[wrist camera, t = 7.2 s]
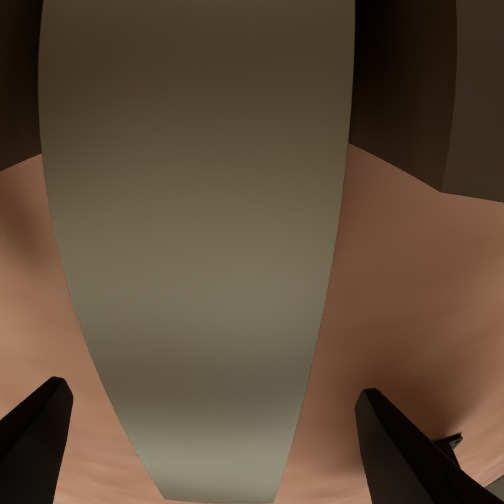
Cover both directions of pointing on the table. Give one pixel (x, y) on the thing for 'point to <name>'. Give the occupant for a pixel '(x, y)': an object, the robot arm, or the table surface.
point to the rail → (199, 217)
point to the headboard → (353, 89)
